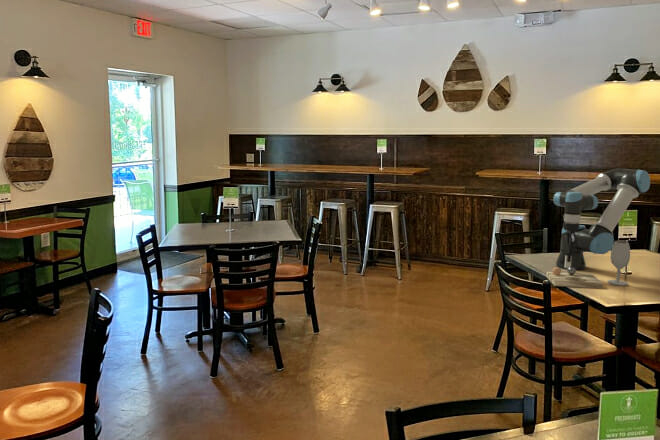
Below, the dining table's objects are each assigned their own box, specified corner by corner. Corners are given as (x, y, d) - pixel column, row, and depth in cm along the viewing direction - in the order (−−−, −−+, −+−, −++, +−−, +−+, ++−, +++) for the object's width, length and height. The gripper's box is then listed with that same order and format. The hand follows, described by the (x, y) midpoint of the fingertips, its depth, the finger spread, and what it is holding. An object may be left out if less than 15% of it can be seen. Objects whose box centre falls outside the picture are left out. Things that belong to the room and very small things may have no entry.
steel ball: (565, 273, 293) (566, 265, 293) (574, 273, 293) (574, 266, 292) (567, 275, 290) (568, 267, 289) (576, 275, 289) (577, 268, 288)
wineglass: (631, 286, 281) (635, 243, 278) (615, 286, 280) (619, 244, 276) (619, 281, 290) (623, 240, 286) (603, 281, 288) (607, 240, 285)
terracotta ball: (551, 273, 293) (552, 266, 292) (559, 274, 292) (560, 266, 291) (553, 275, 289) (553, 267, 288) (561, 276, 288) (562, 268, 287)
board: (546, 276, 297) (546, 271, 297) (591, 278, 294) (591, 273, 294) (554, 285, 280) (554, 280, 279) (602, 288, 276) (602, 283, 276)
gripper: (560, 220, 300) (557, 264, 304) (566, 223, 288) (562, 270, 291) (576, 220, 299) (572, 265, 303) (582, 224, 287) (578, 271, 290)
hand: (567, 267), depth 297 cm, fingers closed
